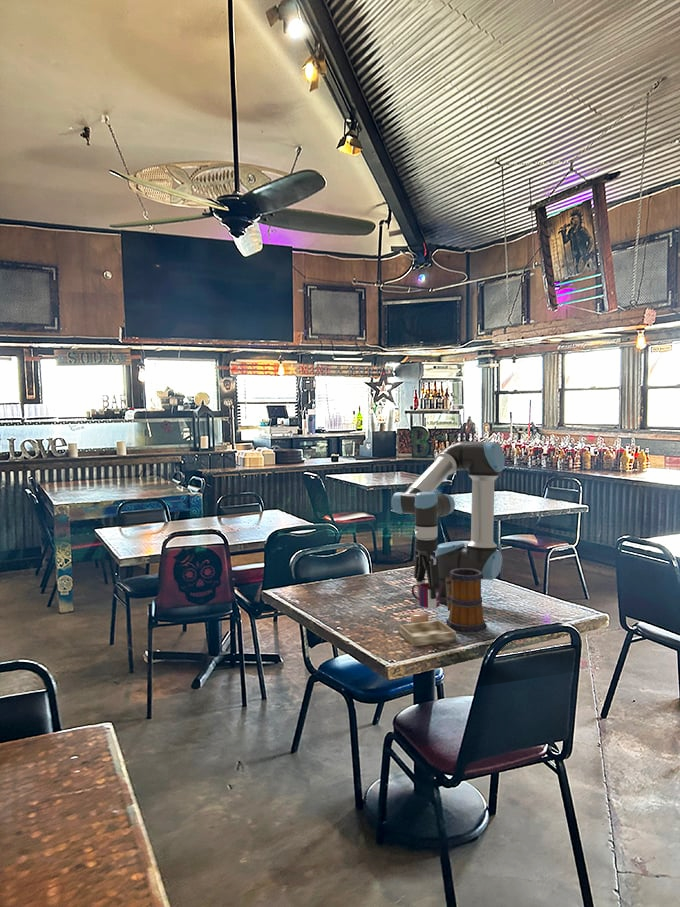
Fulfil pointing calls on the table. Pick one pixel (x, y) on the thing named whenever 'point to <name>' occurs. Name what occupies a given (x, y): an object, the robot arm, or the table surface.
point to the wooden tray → (427, 633)
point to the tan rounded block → (419, 617)
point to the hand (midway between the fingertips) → (426, 603)
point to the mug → (465, 601)
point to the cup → (424, 595)
